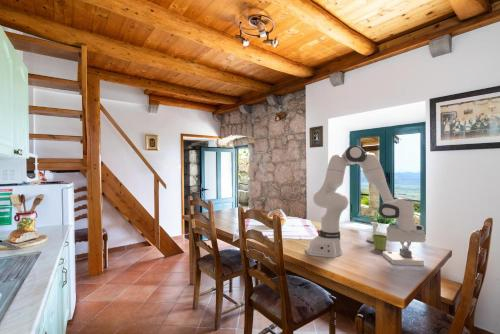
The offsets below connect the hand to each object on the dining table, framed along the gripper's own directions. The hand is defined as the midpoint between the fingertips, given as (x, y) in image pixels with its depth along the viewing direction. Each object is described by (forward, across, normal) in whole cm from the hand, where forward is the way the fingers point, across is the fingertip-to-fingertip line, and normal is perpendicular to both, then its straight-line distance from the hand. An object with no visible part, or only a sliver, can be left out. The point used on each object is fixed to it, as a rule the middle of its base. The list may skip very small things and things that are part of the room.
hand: (405, 249), depth 143 cm
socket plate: (+6, -2, 0) cm, 7 cm away
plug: (+6, 0, 0) cm, 7 cm away
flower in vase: (+7, -5, +36) cm, 37 cm away
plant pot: (+7, -7, +19) cm, 21 cm away
